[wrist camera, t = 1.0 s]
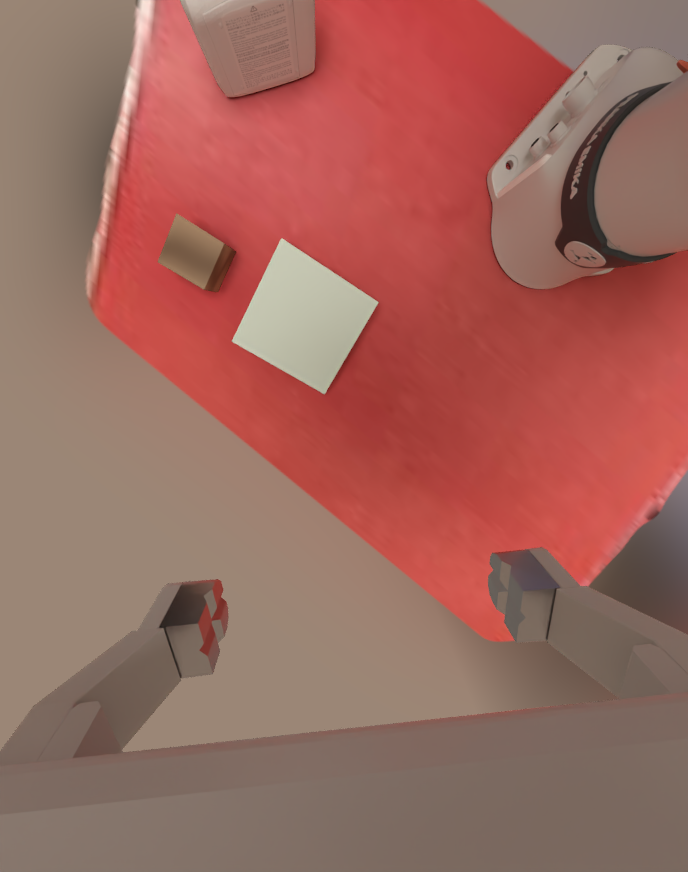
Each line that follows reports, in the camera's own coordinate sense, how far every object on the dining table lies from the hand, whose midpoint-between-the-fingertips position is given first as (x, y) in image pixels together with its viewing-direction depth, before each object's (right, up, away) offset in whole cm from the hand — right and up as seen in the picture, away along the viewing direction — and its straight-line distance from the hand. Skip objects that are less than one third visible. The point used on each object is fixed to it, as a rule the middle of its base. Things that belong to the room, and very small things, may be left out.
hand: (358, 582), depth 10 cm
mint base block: (-5, +18, +32) cm, 37 cm away
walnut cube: (-16, +25, +29) cm, 41 cm away
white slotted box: (-8, +41, +24) cm, 48 cm away
